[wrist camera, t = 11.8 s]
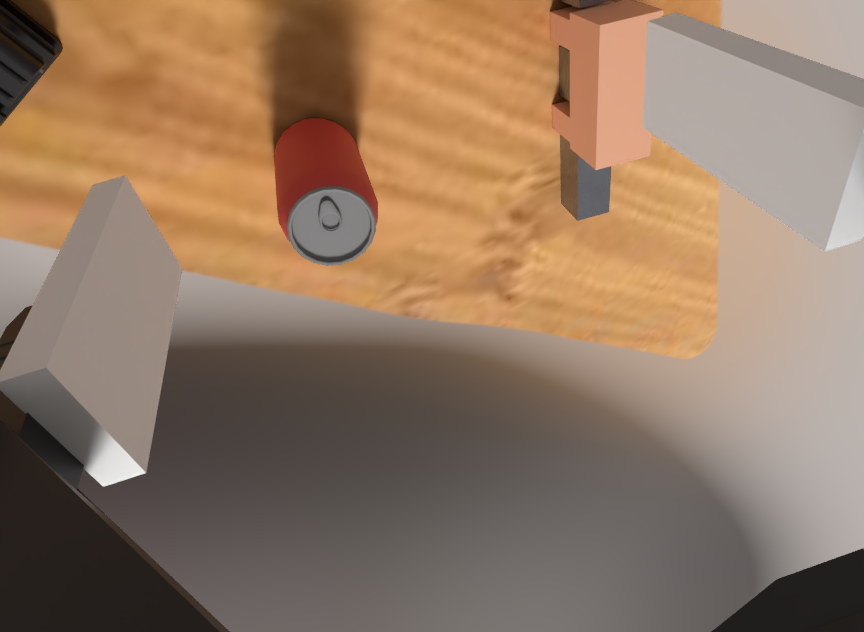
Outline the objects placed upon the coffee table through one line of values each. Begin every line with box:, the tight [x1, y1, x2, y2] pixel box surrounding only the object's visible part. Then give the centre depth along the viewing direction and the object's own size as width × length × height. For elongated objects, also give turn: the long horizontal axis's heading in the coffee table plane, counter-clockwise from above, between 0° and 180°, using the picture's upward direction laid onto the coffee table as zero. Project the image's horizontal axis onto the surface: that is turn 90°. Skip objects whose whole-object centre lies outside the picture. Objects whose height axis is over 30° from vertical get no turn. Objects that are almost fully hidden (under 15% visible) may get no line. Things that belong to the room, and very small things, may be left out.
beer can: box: [274, 118, 378, 266], centre depth 40 cm, size 7×7×12 cm
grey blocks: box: [559, 0, 612, 221], centre depth 44 cm, size 24×3×4 cm, turn 9°
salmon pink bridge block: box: [550, 0, 664, 170], centre depth 42 cm, size 10×4×8 cm, turn 9°
